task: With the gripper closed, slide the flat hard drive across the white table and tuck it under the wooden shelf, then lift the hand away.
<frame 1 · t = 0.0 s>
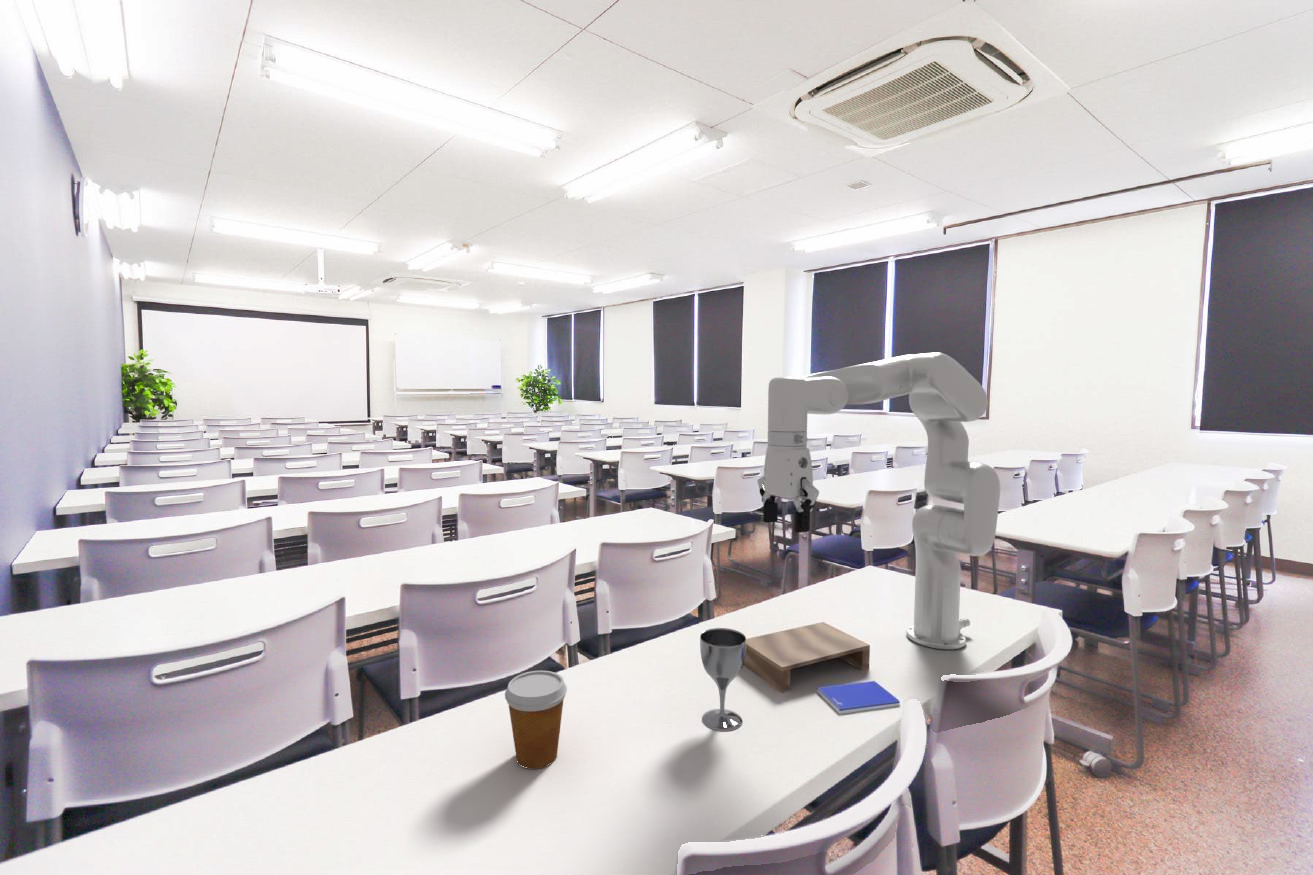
hand: (785, 526, 115), 31 cm above the table, tool pointing down, fingers open, 9 cm apart
wooden shelf: (804, 665, 124), on the table
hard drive: (857, 702, 110), on the table
disposable coffee cup: (537, 757, 92), on the table
wine glass: (722, 720, 103), on the table
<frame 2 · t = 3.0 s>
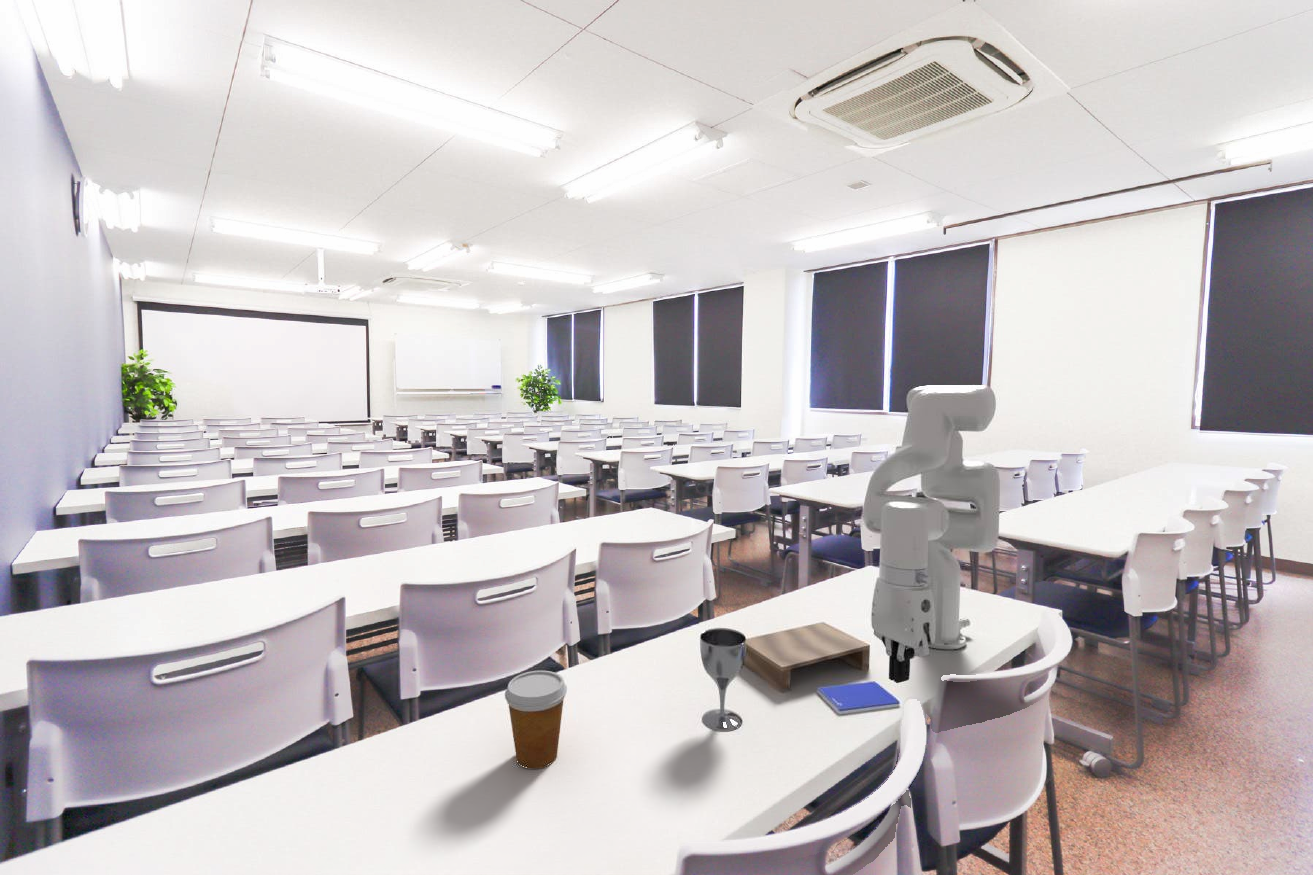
hand: (898, 679, 101), 8 cm above the table, tool pointing down, fingers closed
nothing on the table moved.
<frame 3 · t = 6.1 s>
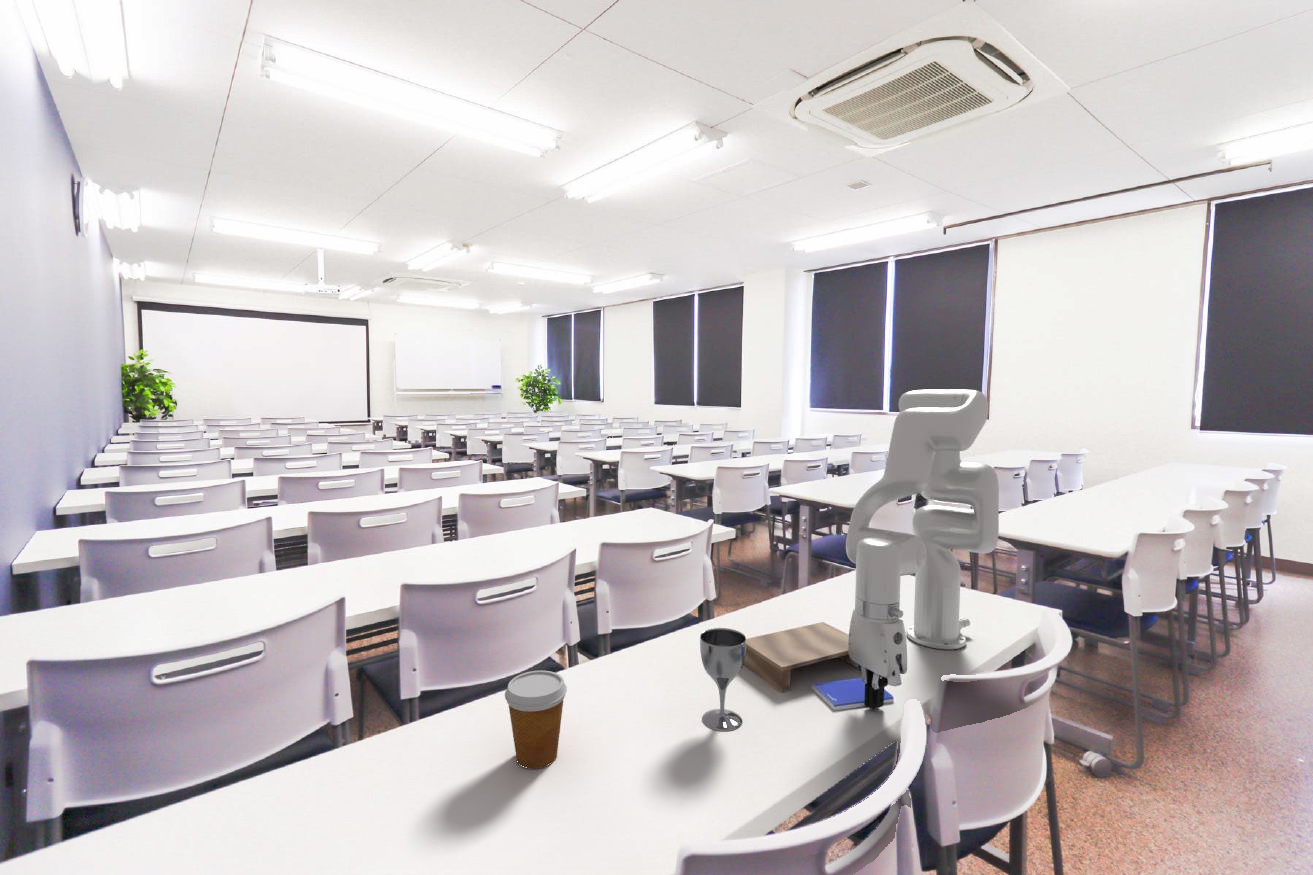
hand: (874, 705, 106), 1 cm above the table, tool pointing down, fingers closed
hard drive: (851, 698, 111), on the table
everything else where it was.
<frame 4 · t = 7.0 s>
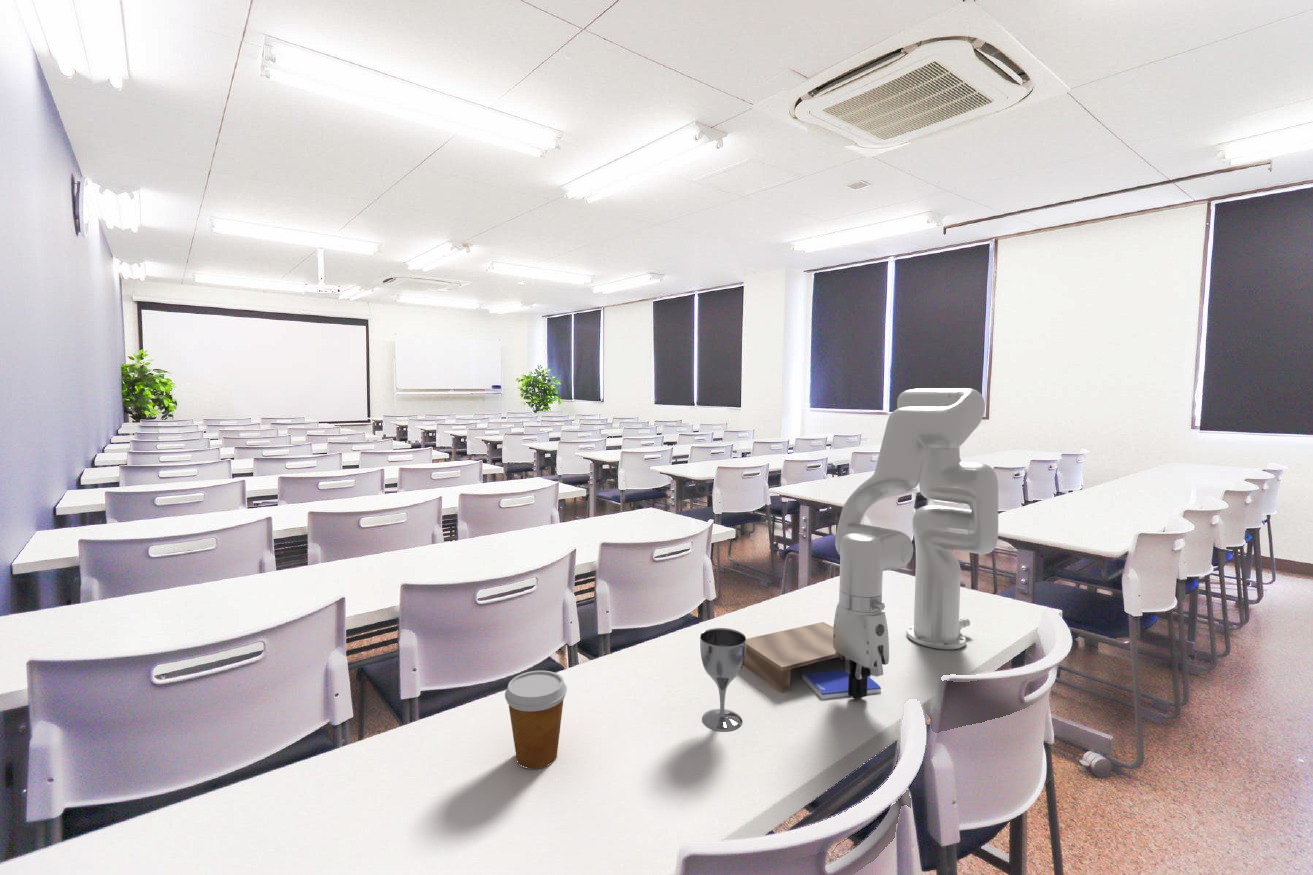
hand: (857, 695, 110), 1 cm above the table, tool pointing down, fingers closed
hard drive: (840, 687, 115), on the table, touching gripper
everything else where it was.
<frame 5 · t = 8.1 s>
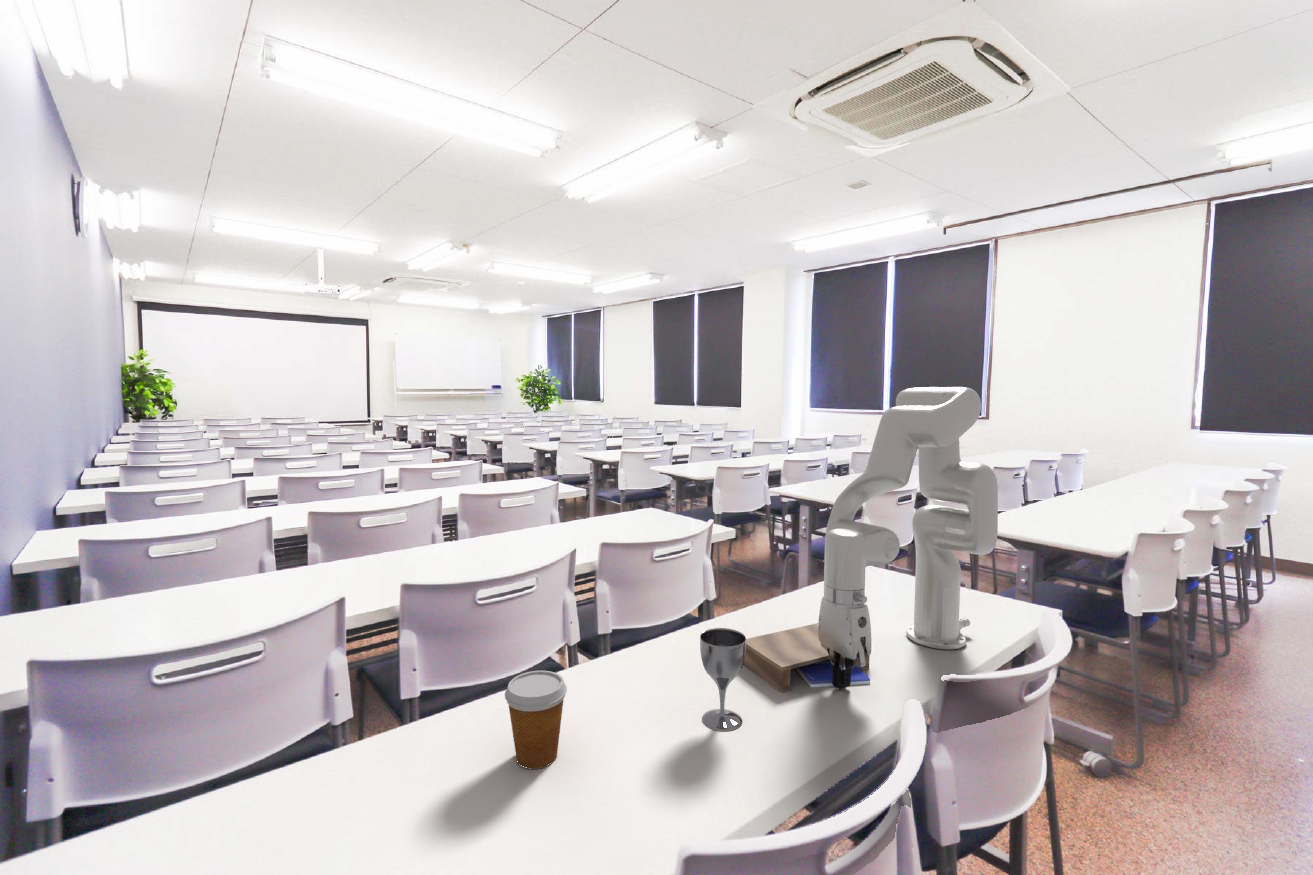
hand: (841, 685, 114), 1 cm above the table, tool pointing down, fingers closed
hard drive: (831, 678, 119), on the table
everything else where it was.
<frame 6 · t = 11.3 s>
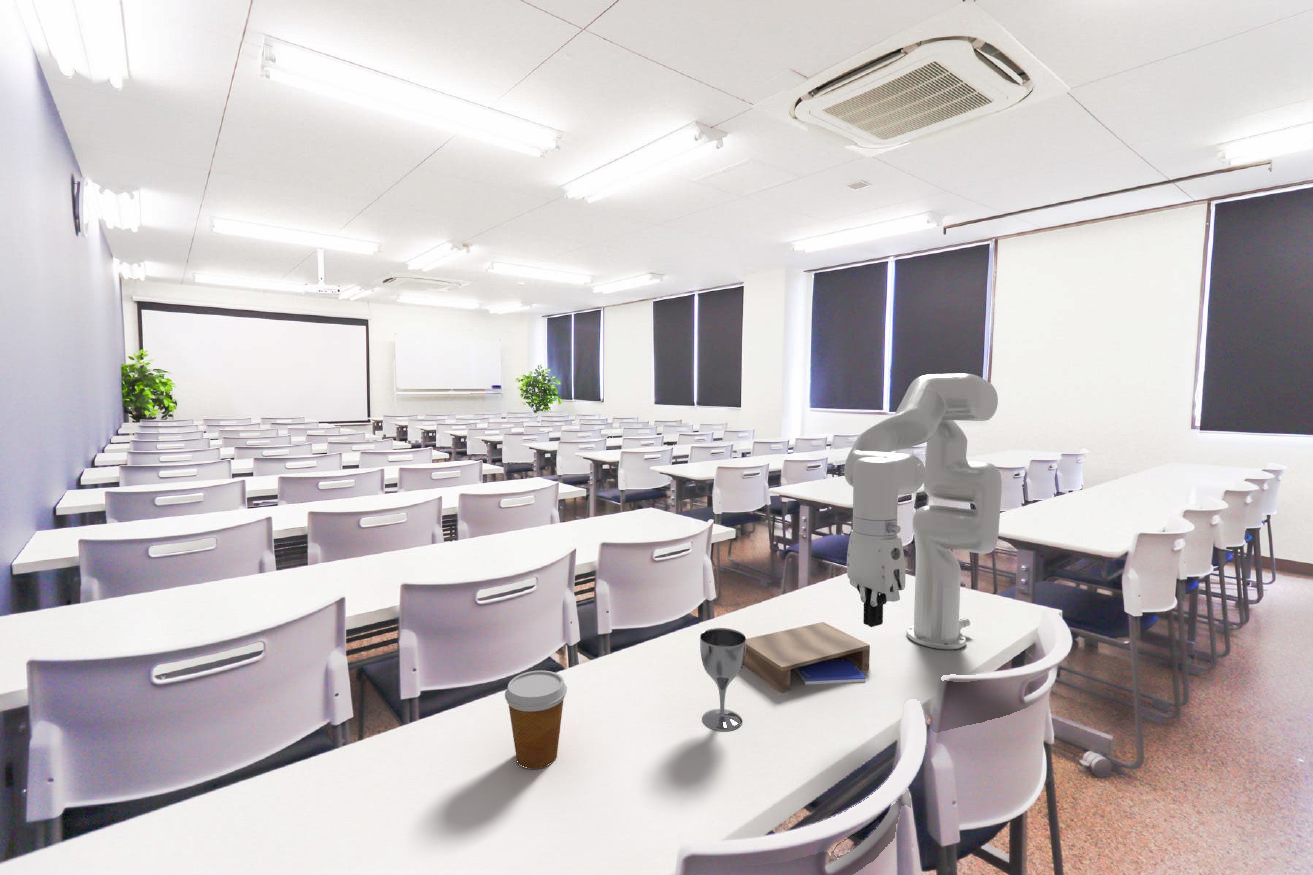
hand: (873, 623, 107), 15 cm above the table, tool pointing down, fingers closed
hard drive: (827, 676, 120), on the table
everything else where it was.
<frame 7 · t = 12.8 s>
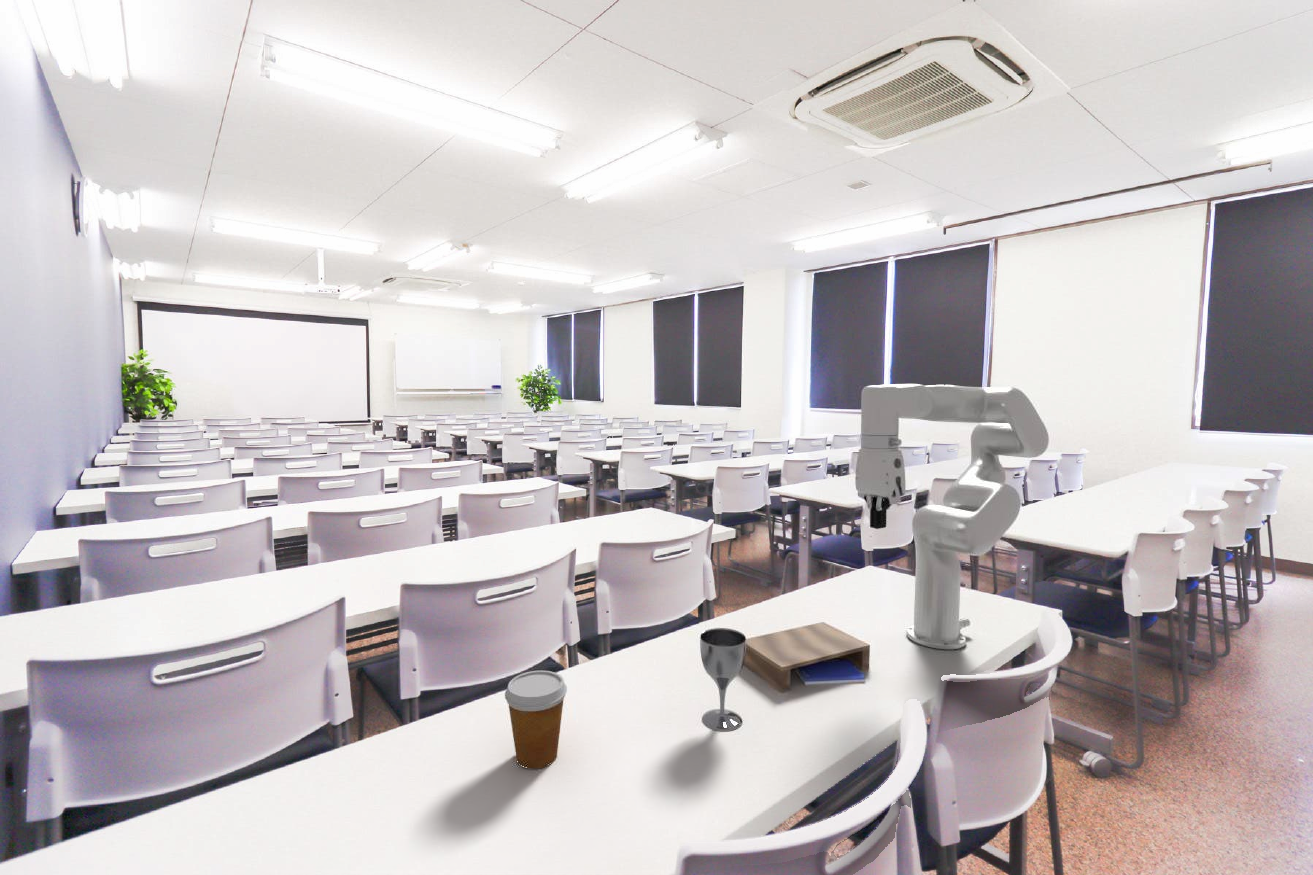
hand: (878, 527, 126), 29 cm above the table, tool pointing down, fingers closed
nothing on the table moved.
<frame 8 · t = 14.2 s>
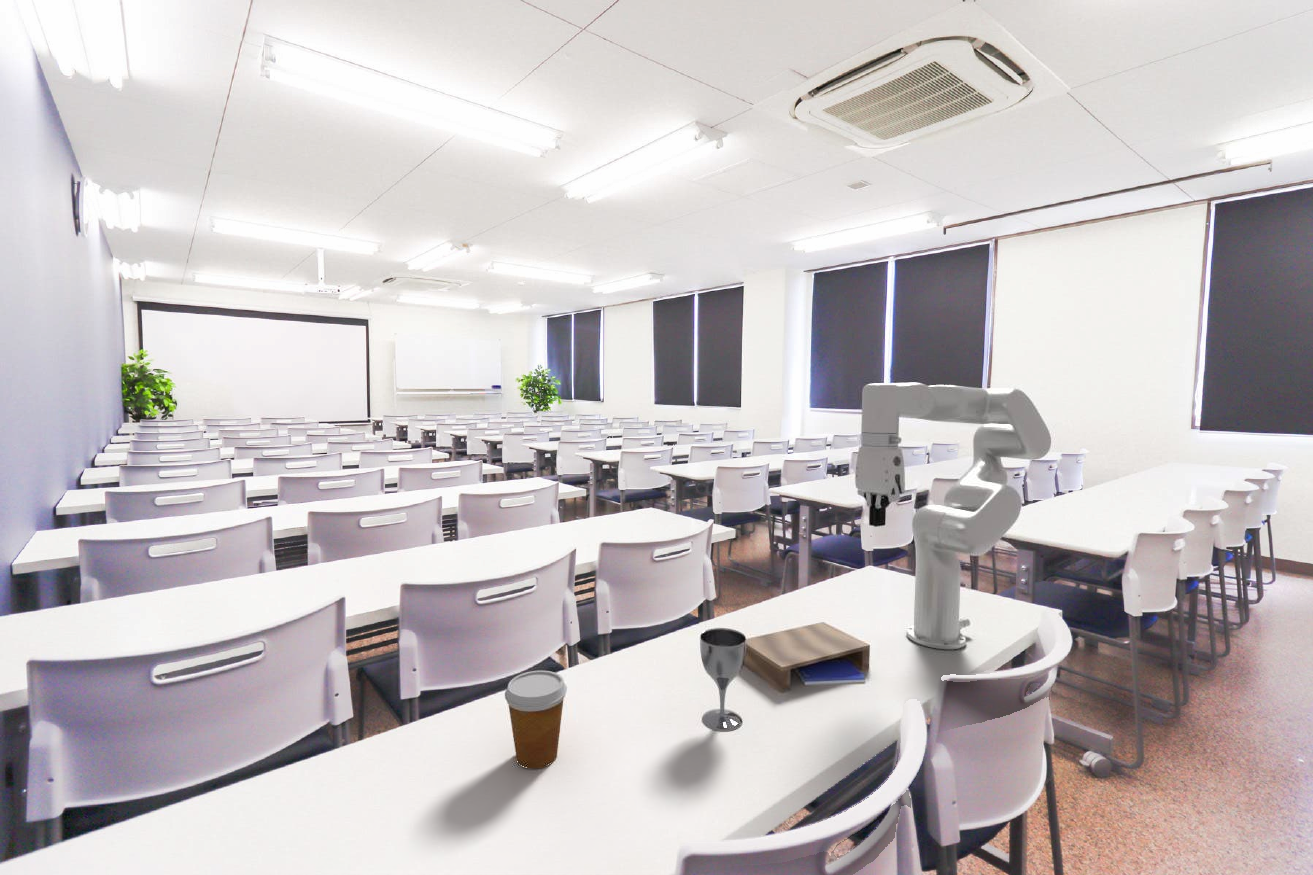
hand: (877, 525, 126), 29 cm above the table, tool pointing down, fingers closed
nothing on the table moved.
at the end: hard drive inside the target area on the wooden shelf (5.3 cm from its centre), point -0.8 cm above the wooden shelf's base; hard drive tilted 0°; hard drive moved 10.3 cm from its start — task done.
